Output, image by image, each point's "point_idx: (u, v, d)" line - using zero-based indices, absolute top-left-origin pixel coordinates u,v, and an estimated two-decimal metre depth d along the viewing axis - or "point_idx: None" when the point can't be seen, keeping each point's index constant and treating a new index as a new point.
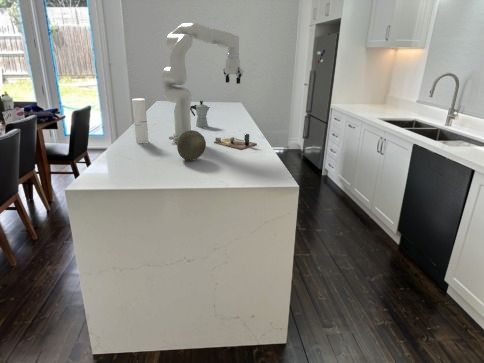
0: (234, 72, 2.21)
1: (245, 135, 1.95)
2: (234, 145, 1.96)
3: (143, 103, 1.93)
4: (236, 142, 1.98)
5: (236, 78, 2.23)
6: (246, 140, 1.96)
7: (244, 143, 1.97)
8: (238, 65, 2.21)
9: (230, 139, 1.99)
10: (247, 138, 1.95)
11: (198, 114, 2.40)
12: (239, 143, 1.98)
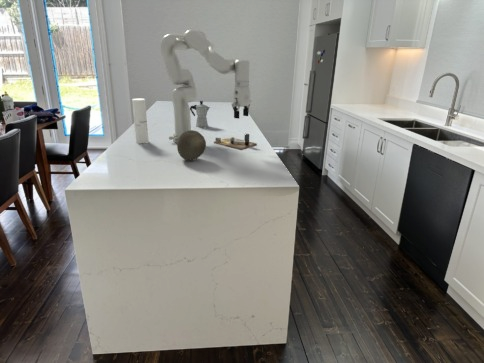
0: (249, 102, 1.86)
1: (245, 135, 1.95)
2: (234, 145, 1.96)
3: (143, 103, 1.93)
4: (236, 142, 1.98)
5: (247, 110, 1.88)
6: (246, 140, 1.96)
7: (244, 143, 1.97)
8: None
9: (230, 139, 1.99)
10: (247, 138, 1.95)
11: (198, 114, 2.40)
12: (239, 143, 1.98)
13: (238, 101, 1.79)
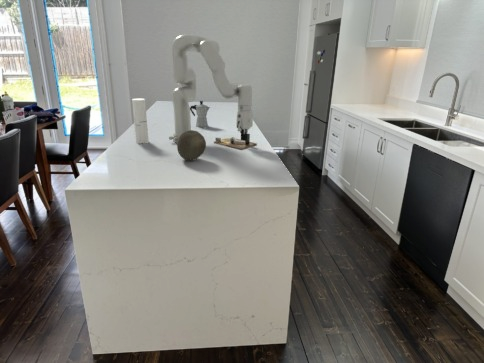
0: (251, 125, 1.93)
1: None
2: (234, 145, 1.96)
3: (143, 103, 1.93)
4: (236, 142, 1.99)
5: (246, 134, 1.93)
6: (247, 140, 1.96)
7: (245, 143, 1.97)
8: None
9: (230, 139, 1.99)
10: (248, 138, 1.96)
11: (198, 114, 2.40)
12: (239, 143, 1.98)
13: (241, 124, 1.86)
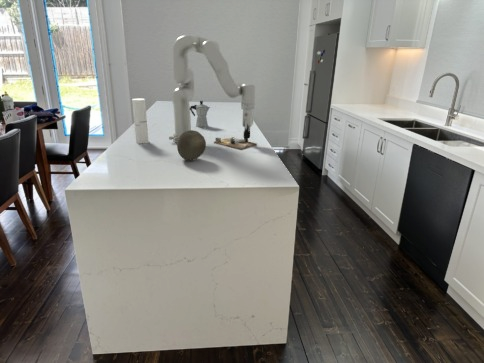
0: None
1: None
2: (234, 145, 1.96)
3: (143, 103, 1.93)
4: (237, 141, 2.01)
5: (249, 132, 1.99)
6: None
7: (245, 140, 2.03)
8: None
9: (231, 139, 1.99)
10: None
11: (198, 114, 2.40)
12: (240, 141, 2.02)
13: (248, 122, 1.92)
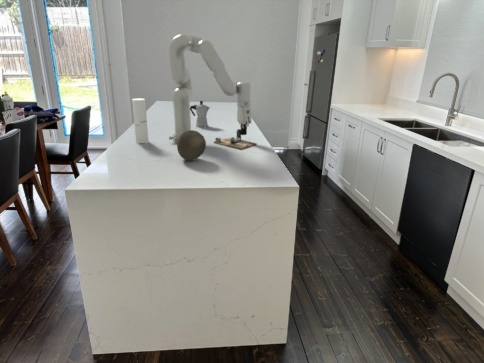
0: None
1: (240, 130, 2.05)
2: (234, 145, 1.96)
3: (143, 103, 1.93)
4: (236, 140, 2.02)
5: None
6: (240, 135, 2.07)
7: (239, 138, 2.07)
8: None
9: (232, 139, 1.99)
10: None
11: (198, 114, 2.40)
12: (237, 140, 2.04)
13: (250, 119, 1.98)
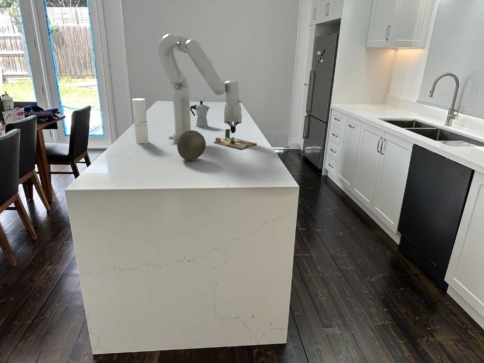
0: None
1: (229, 130, 2.06)
2: (234, 145, 1.96)
3: (143, 103, 1.93)
4: None
5: None
6: None
7: (229, 138, 2.08)
8: None
9: None
10: None
11: (198, 114, 2.40)
12: None
13: (241, 116, 2.04)
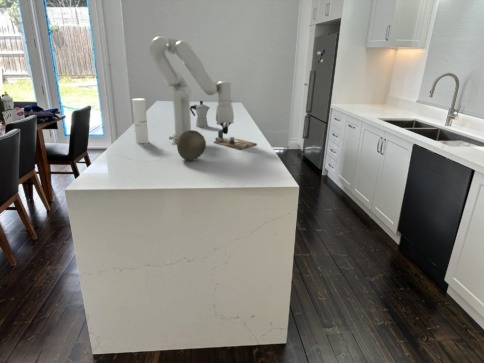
0: None
1: (222, 130, 2.04)
2: (234, 145, 1.96)
3: (143, 103, 1.93)
4: None
5: None
6: None
7: None
8: (216, 113, 2.00)
9: None
10: None
11: (198, 114, 2.40)
12: None
13: None
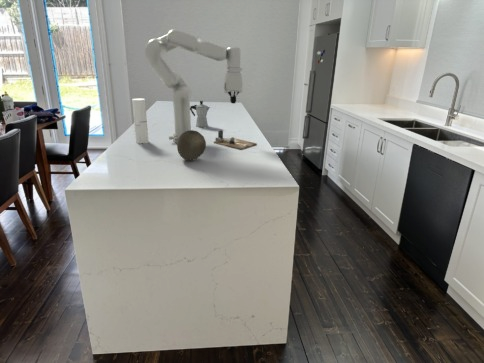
0: None
1: (222, 130, 2.04)
2: (234, 145, 1.96)
3: (143, 103, 1.93)
4: None
5: None
6: None
7: None
8: (225, 80, 1.93)
9: None
10: None
11: (198, 114, 2.40)
12: None
13: None
